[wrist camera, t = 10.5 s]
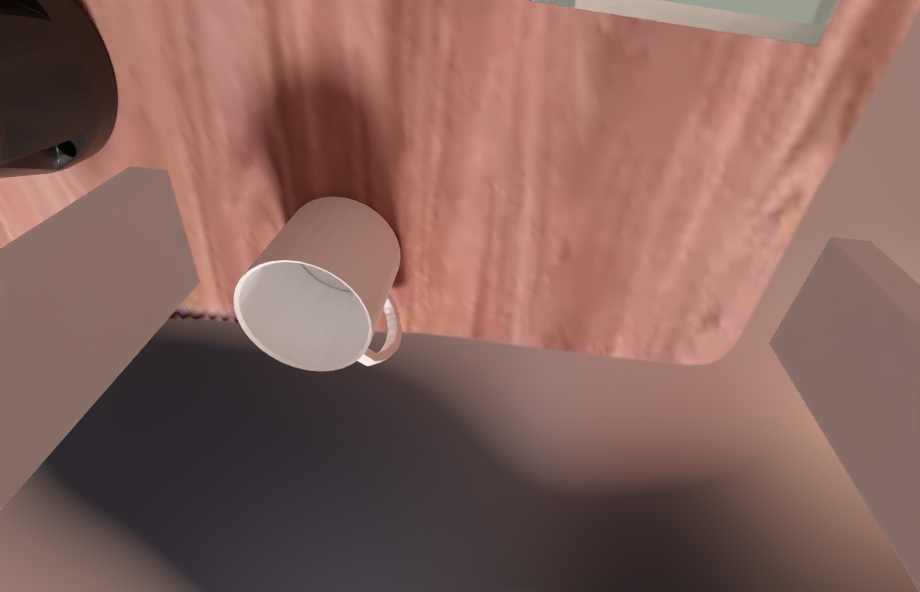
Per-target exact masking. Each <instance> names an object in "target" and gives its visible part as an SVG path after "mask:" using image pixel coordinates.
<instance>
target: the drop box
mask: <svg viewBox="0 0 920 592" xmlns="http://www.w3.org/2000/svg"><path fill="white" fill-rule="evenodd" d="M530 1H533V2H539V3H545V4H552V5H558V6H564V7H571V8H577V9H584V10H590V11H596V12H603V13H609V14H615V15H622V16H628V17H634V18H641V19H647V20H654V21H660V22H666V23H673V24H679V25H685V26H692V27H698V28H705V29H711V30H717V31H724V32H730V33H736V34H743V35H749V36H755V37H762V38H768V39H775V40H781V41H787V42H794V43H800V44H806V45H813V46H818V45H819V43H820V41H821V38H822V36H823V34H824V32H825V30H826V28H827V26H828V24H829V22H830V20H831V18H832V16H833V14H834V12H835V10H836V8H837V6H838V4H839V2H840V0H530Z"/></svg>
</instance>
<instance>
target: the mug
mask: <svg viewBox="0 0 920 592" xmlns="http://www.w3.org/2000/svg"><path fill="white" fill-rule="evenodd" d="M400 260H401V256H400V247H399V243H398V240H397V238H396V236H395V234H394V232H393V230H392V228H391V227H390V226H389V224H388V223H387V222H386V220H385V219H384V218H383V217H381V216H380V215H379V214H378V213H377V212H376V211H374V210H373V209H371V208H370V207H368V206H367V205H365V204H363V203H360V202H358V201H356V200H352V199H348V198H344V197H323V198H318V199H315V200H312V201H310V202H308V203H306V204H305V205H303V206H302V207H301V208H300V209H299V210H298V211H297V212H296V213H295V214H294V215H293V216H292V217H291V219H290V220H289V221H288V222H287V223H286V225H285V226H284V227H283V228H282V229H281V231H280V232H279V233H278V234H277V236H276V237H275V238H274V239H273V240H272V242H271V243H270V244H269V245H268V246H267V248H266V249H265V250H264V251H263V252H262V254H261V255H260V256H259V257H258V258H257V260H256V261H255V262H254V263H253V264H252V266H251V267H250V268H249V269H248V270H247V272H246V273H245V274H244V275H243V276H242V278H241V279H240V281H239V283H238V285H237V286H236V289H235V294H234V309H235V312H236V316H237V319H238V321H239V323H240V325H241V327H242V329H243V330H244V331H245V333H246V334H247V335H248V337H249V338H250V339H251V340H252V341H253V342H254V343H255V344H256V345H257V346H258V347H259V348H260V349H262V350H263V351H264V352H266V353H267V354H269V355H270V356H272V357H273V358H275V359H277V360H279V361H281V362H283V363H285V364H288V365H291V366H293V367H297V368H301V369H305V370H312V371H332V370H337V369H341V368H343V367H346V366H349V365H350V364H353V363H354V362H355V361H359V362H361V363H363V364H364V365H366V366H370V365H373V364H376V363H379V362H381V361H384V360H386V359H387V358H389V357H390V356H391V355H392V354H393V353H394V352H395V351H396V350H397V349H398V347H399V345H400V339H401V336H402V329H401V324H400V317H399V312H398V309H397V306H396V303H395V301H394V299H393V298H392V296H391V294H390V290H391V288H392V285H393V283H394V280H395V278H396V275H397V272H398V270H399V266H400ZM383 308H384V311H385V314H386V315H387V318H386V319H387V321H388V323H387V326H388V330H389V331H388V334H387V339H386V343H385V345H384V346H383V348H382V349H381V351H380V352H378V353H375V352H373V351H371V350H370V349H368V346H369V344H370V342H371V339H372V336H373V334H374V331H375V329H376V326H377V324H378V321H379V319H380V316H381V313H382V311H383Z"/></svg>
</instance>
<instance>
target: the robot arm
mask: <svg viewBox="0 0 920 592" xmlns="http://www.w3.org/2000/svg"><path fill="white" fill-rule="evenodd" d="M116 116H117V91H116V84H115V79H114V75H113V71H112V68H111V65H110V62H109V59H108V56H107V54H106V51H105V49H104V47H103V45H102V42H101V40H100V38H99V36H98V34H97V33H96V31H95V29H94V27H93V26H92V24H91V22H90V21H89V19H88V17H87V16H86V14H85V13H84V11H83V10H82V9H81V7H80V6H79V4H78V3H77V2H76V0H0V178H5V177H16V176H27V175H38V174H48V173H53V172H57V171H61V170H64V169H67V168H69V167H71V166H73V165H75V164H77V163H79V162H81V161H83V160H85V159H87V158H89V157H91V156H92V155H94V154H95V153H97V152H98V151H99V150H100V149H101V148H102V147H103V146H104V145H105V144H106V142H107V141H108V139H109V138H110V136H111V134H112V131H113V129H114V125H115V122H116ZM199 283H200V281H199V277H198V274H197V270H196V267H195V264H194V260H193V257H192V253H191V250H190V246H189V243H188V239H187V236H186V233H185V229H184V226H183V222H182V219H181V215H180V212H179V209H178V205H177V202H176V198H175V195H174V191H173V188H172V185H171V181H170V178H169V174H168V171H167V170H161V169H151V168H141V167H131V166H130V167H128V168H127V169H125V170H124V171H122V172H121V173H119V174H117V175H116V176H114V177H113V178H111V179H110V180H108V181H106V182H105V183H103V184H102V185H100V186H99V187H97V188H95V189H94V190H92V191H91V192H89V193H88V194H86V195H84V196H83V197H81V198H80V199H78V200H77V201H75V202H73V203H72V204H70V205H69V206H67V207H66V208H64V209H62V210H61V211H59V212H58V213H56V214H55V215H53V216H51V217H50V218H48V219H47V220H45V221H44V222H42V223H40V224H39V225H37V226H36V227H34V228H32V229H31V230H29V231H28V232H26V233H25V234H23V235H21V236H20V237H18V238H17V239H15V240H14V241H12V242H10V243H9V244H7V245H6V246H4V247H3V248H1V249H0V510H1V509H2V508H3V507H4V506H5V505H6V503H7V502H8V501H9V500H10V499H11V498H12V497H13V495H14V494H15V493H16V492H17V491H18V490H19V489H20V488H21V486H22V485H23V484H24V483H25V482H26V481H27V480H28V478H29V477H30V476H31V475H32V474H33V473H34V472H35V470H36V469H37V468H38V467H39V466H40V465H41V464H42V462H43V461H44V460H45V459H46V458H47V457H48V455H49V454H50V453H51V452H52V451H53V450H54V449H55V447H56V446H57V445H58V444H59V442H61V441H62V439H63V438H64V437H65V436H66V435H67V434H68V433H69V431H70V430H71V429H72V428H73V427H74V426H75V425H76V423H77V422H78V421H79V420H80V419H81V418H82V417H83V415H84V414H85V413H86V412H87V411H88V410H89V409H90V407H91V406H92V405H93V404H94V403H95V402H96V401H97V399H98V398H99V397H100V396H101V395H102V394H103V393H104V391H105V390H106V389H107V388H108V387H109V386H110V385H111V383H112V382H113V381H114V380H115V379H116V378H117V376H118V375H119V374H120V373H121V372H122V371H123V370H124V368H125V367H126V366H127V365H128V364H129V363H130V361H131V360H132V359H133V358H134V357H135V356H136V354H138V352H139V351H140V350H141V349H142V348H143V347H144V346H145V344H146V343H147V342H148V341H149V340H150V339H151V338H152V336H153V335H154V334H155V333H156V332H157V331H158V330H159V328H160V327H161V326H162V325H163V324H164V323H165V322H166V320H167V319H168V318H169V317H170V316H171V315H172V314H173V312H174V311H175V310H176V309H177V308H178V307H179V306H180V304H181V303H182V302H183V301H184V300H185V299H186V298H187V296H188V295H189V294H190V293H191V292H192V291H193V290H194V288H195V287H196V286H197V285H198V284H199ZM769 344H770V345H771V347H772V349H773V350H774V352H775V354H776V355H777V357H778V359H779V360H780V362H781V364H782V365H783V367H784V368H785V370H786V372H787V374H788V375H789V377H790V378H791V380H792V382H793V383H794V385H795V387H796V388H797V390H798V392H799V393H800V395H801V397H802V398H803V400H804V402H805V403H806V405H807V407H808V408H809V410H810V412H811V413H812V415H813V416H814V418H815V420H816V422H817V423H818V425H819V427H820V428H821V430H822V432H823V433H824V435H825V436H826V438H827V440H828V441H829V443H830V445H831V446H832V448H833V450H834V451H835V453H836V455H837V456H838V458H839V460H840V461H841V463H842V464H843V466H844V468H845V470H846V471H847V473H848V475H849V476H850V478H851V479H852V481H853V483H854V485H855V486H856V488H857V489H858V491H859V493H860V494H861V496H862V498H863V499H864V501H865V503H866V504H867V506H868V508H869V509H870V511H871V513H872V514H873V516H874V518H875V519H876V521H877V523H878V524H879V526H880V528H881V529H882V531H883V533H884V534H885V536H886V537H887V539H888V541H889V542H890V544H891V546H892V547H893V549H894V551H895V553H896V554H897V556H898V557H899V559H900V561H901V562H902V564H903V566H904V567H905V569H906V571H907V572H908V574H909V575H910V577H911V579H912V580H913V582H914V584H915V586H916V587H917V589H918V590H919V592H920V285H919V284H918V283H917V282H916V281H915V280H914V279H912V278H911V277H910V276H909V275H908V274H907V273H906V272H905V271H904V270H902V269H901V268H900V267H899V266H898V265H897V264H896V263H895V262H894V261H892V260H891V259H890V258H889V257H888V256H887V255H886V254H885V253H883V252H882V251H881V250H880V249H879V248H878V247H877V246H876V245H874V243H872V242H871V241H863V240H854V239H844V238H834V237H831V238H830V239H829V241H828V243H827V244H826V246H825V248H824V250H823V251H822V253H821V255H820V257H819V258H818V260H817V262H816V263H815V265H814V267H813V269H812V271H811V272H810V274H809V276H808V277H807V279H806V281H805V282H804V284H803V286H802V288H801V289H800V291H799V293H798V295H797V296H796V298H795V300H794V301H793V303H792V305H791V307H790V309H789V310H788V312H787V314H786V315H785V317H784V319H783V320H782V322H781V324H780V326H779V328H778V329H777V331H776V332H775V334H774V336H773V338H772V339H771V342H770V343H769Z"/></svg>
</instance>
